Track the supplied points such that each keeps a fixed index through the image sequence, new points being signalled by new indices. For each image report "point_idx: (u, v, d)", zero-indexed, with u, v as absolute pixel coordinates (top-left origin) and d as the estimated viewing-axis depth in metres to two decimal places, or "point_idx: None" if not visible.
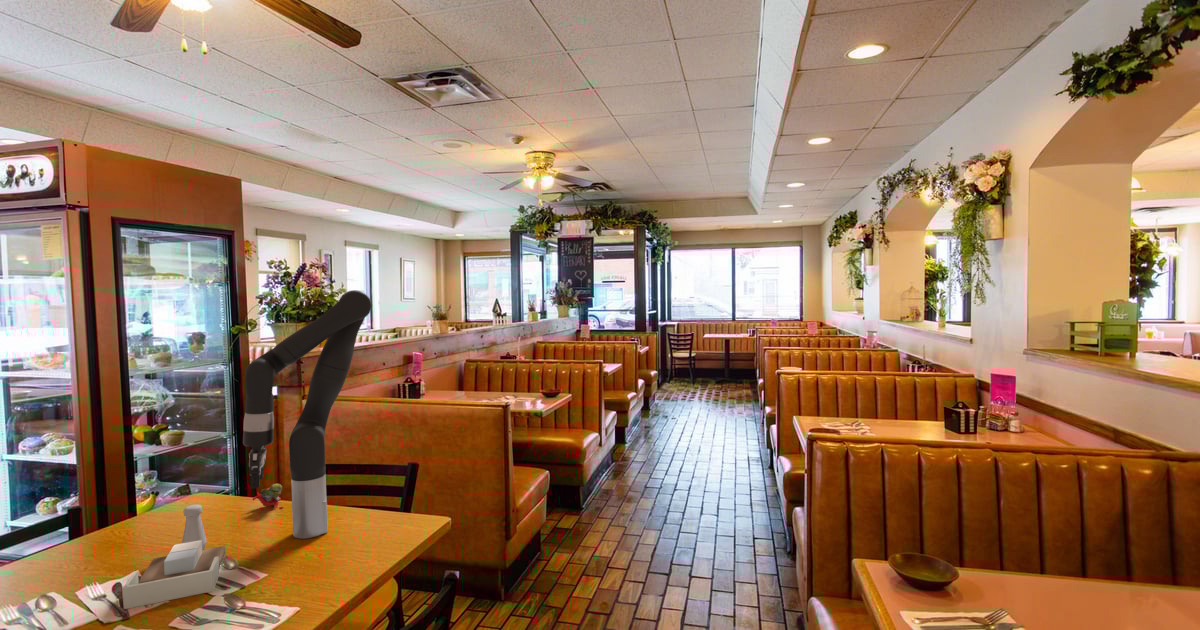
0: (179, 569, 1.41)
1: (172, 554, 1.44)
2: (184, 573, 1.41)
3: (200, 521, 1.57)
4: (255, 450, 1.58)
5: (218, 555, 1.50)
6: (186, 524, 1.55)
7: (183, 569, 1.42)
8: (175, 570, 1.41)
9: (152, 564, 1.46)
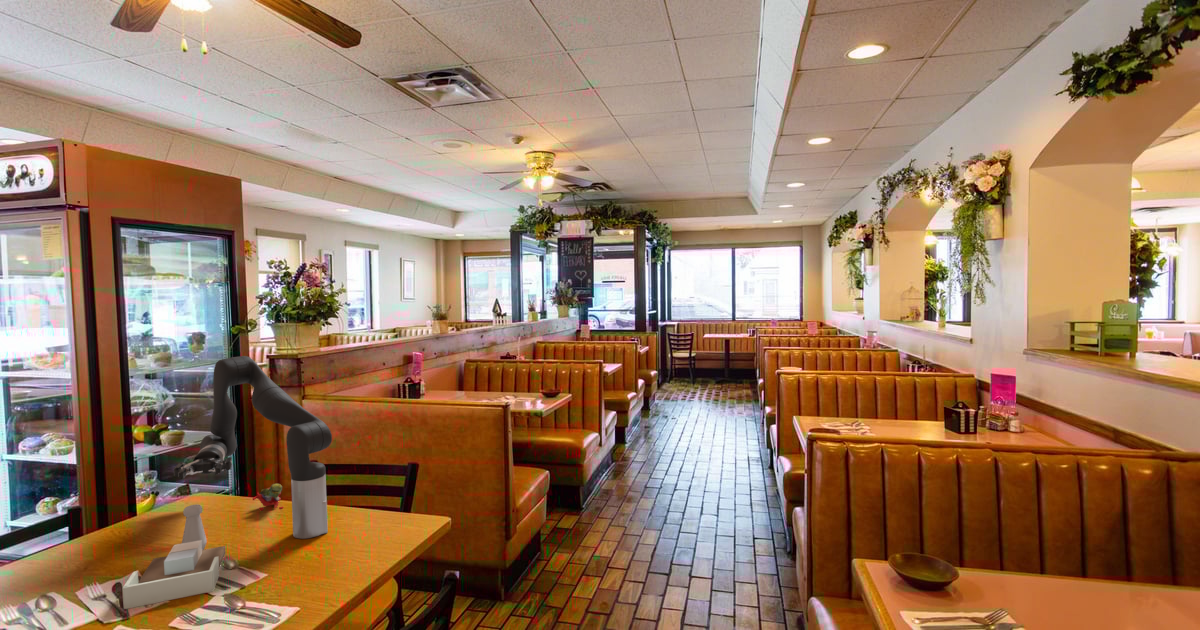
0: (179, 569, 1.41)
1: (172, 554, 1.44)
2: (184, 573, 1.41)
3: (200, 521, 1.57)
4: None
5: (218, 555, 1.50)
6: (186, 524, 1.55)
7: (183, 569, 1.42)
8: (175, 570, 1.41)
9: (152, 564, 1.46)
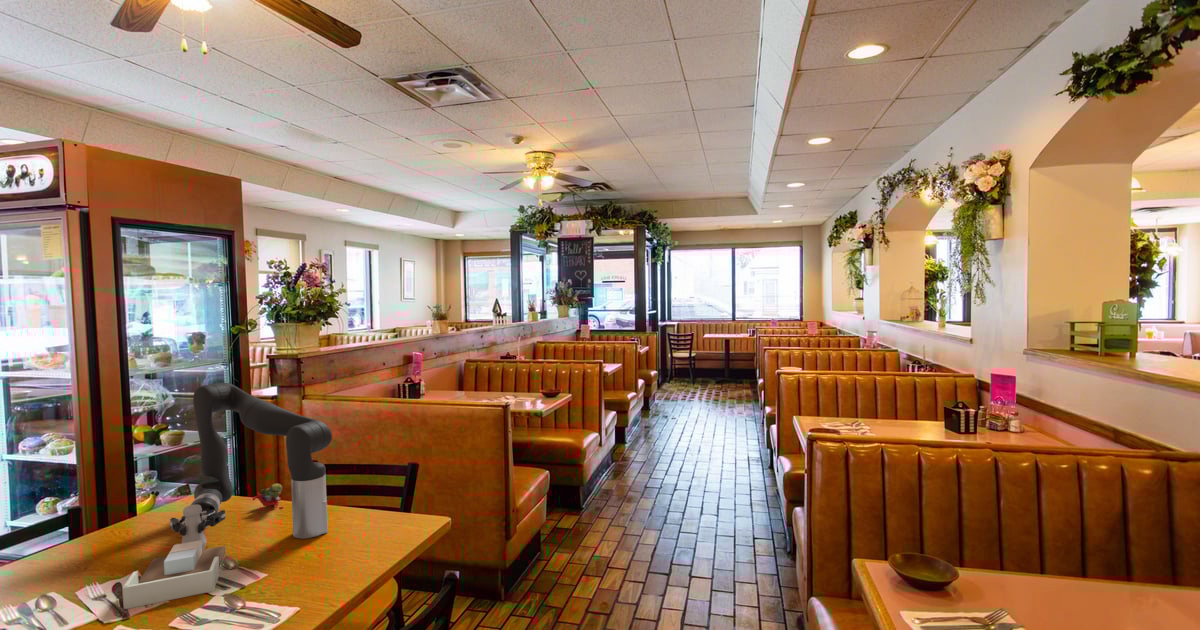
0: (179, 569, 1.41)
1: (172, 554, 1.44)
2: (184, 573, 1.41)
3: (200, 521, 1.57)
4: None
5: (218, 555, 1.50)
6: (186, 524, 1.55)
7: (183, 569, 1.42)
8: (175, 570, 1.41)
9: (152, 564, 1.46)
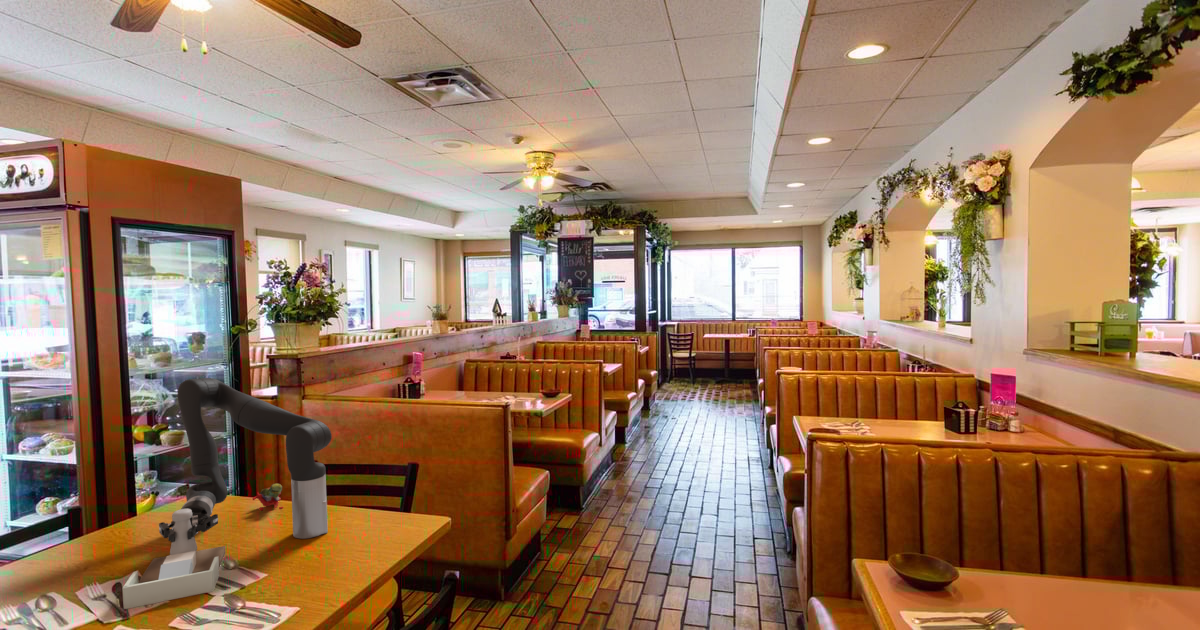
0: None
1: (165, 568, 1.36)
2: None
3: (190, 526, 1.47)
4: None
5: (218, 555, 1.50)
6: (175, 530, 1.45)
7: None
8: None
9: (152, 564, 1.46)
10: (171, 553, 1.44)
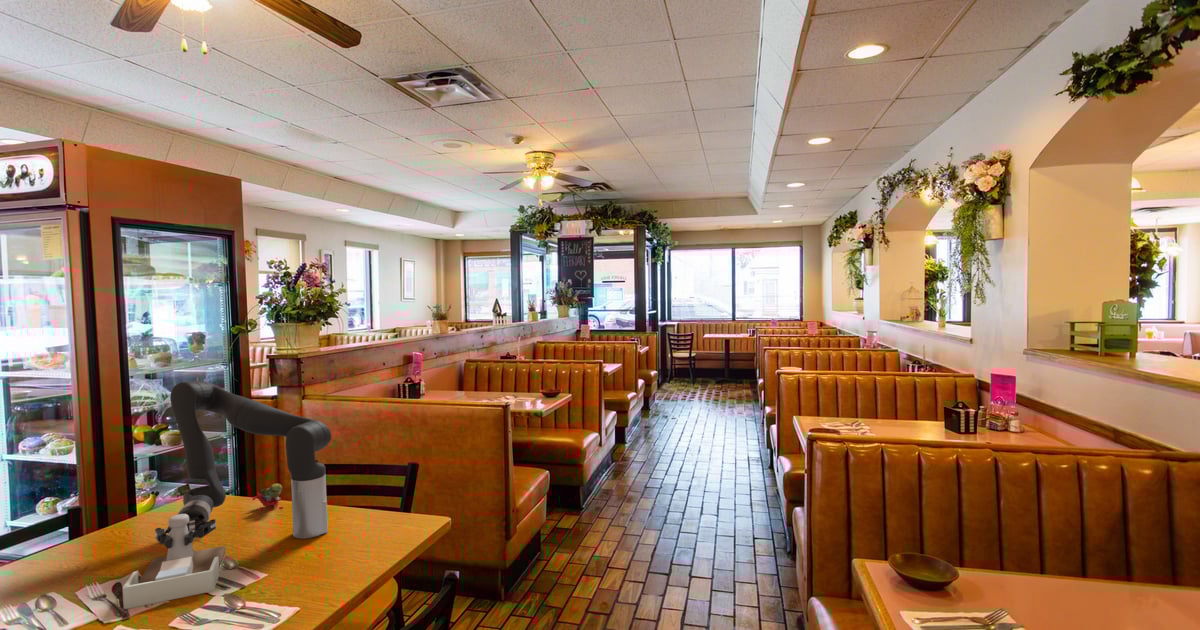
0: None
1: None
2: None
3: (187, 532, 1.43)
4: None
5: (218, 555, 1.50)
6: (172, 536, 1.41)
7: None
8: None
9: (152, 564, 1.46)
10: (167, 559, 1.41)
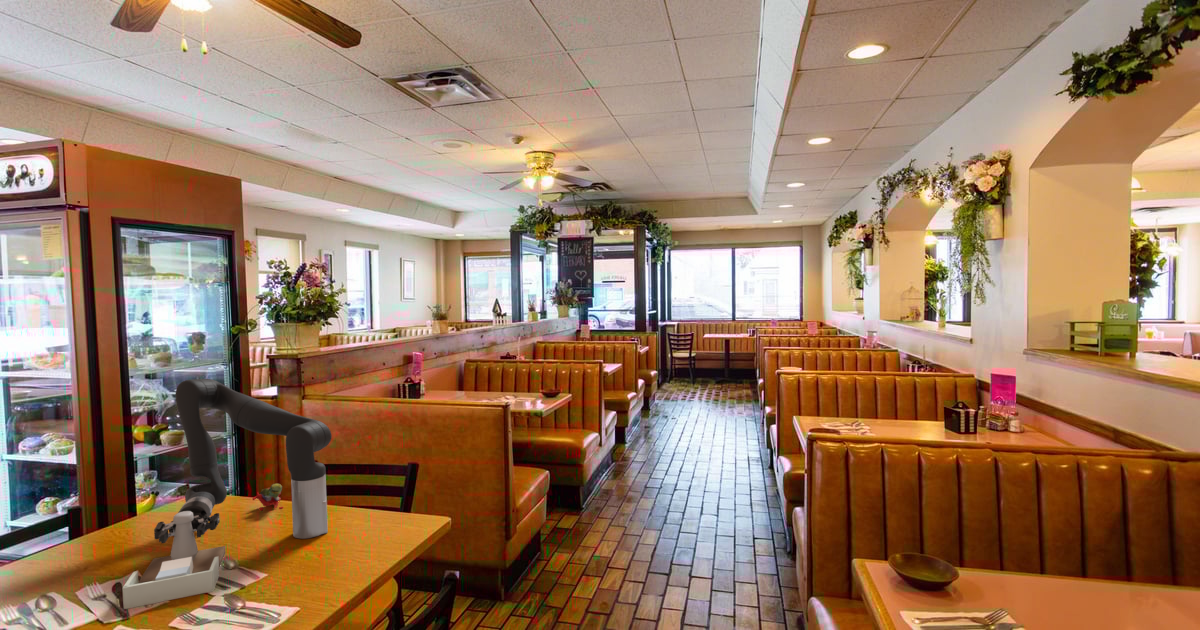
0: None
1: None
2: None
3: (191, 529, 1.47)
4: None
5: (218, 555, 1.50)
6: (176, 532, 1.45)
7: None
8: None
9: (152, 564, 1.46)
10: (172, 555, 1.44)
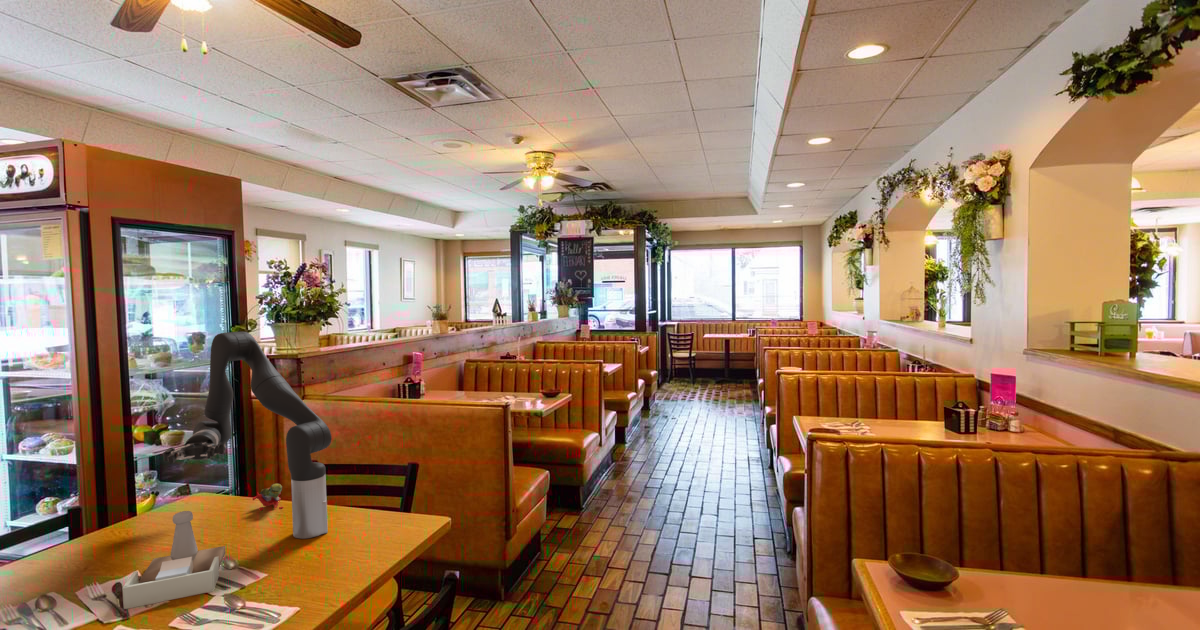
0: None
1: None
2: None
3: (190, 529, 1.47)
4: None
5: (218, 555, 1.50)
6: (176, 532, 1.45)
7: None
8: None
9: (152, 564, 1.46)
10: (171, 555, 1.45)
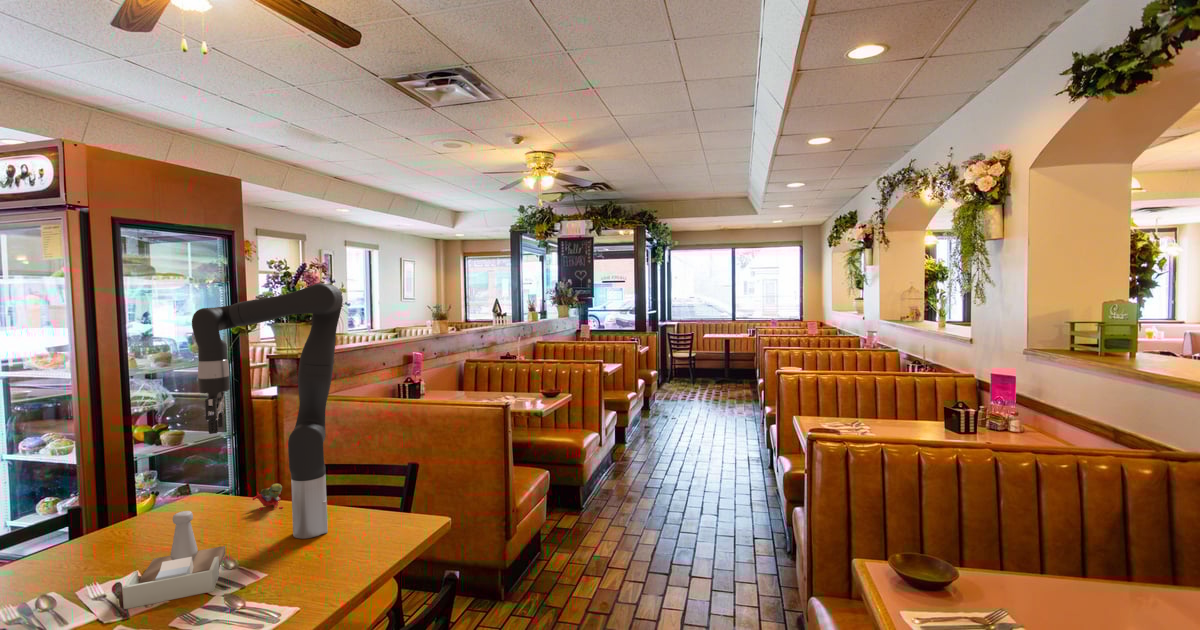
0: None
1: None
2: None
3: (190, 529, 1.47)
4: (211, 396, 1.61)
5: (218, 555, 1.50)
6: (176, 532, 1.45)
7: None
8: None
9: (152, 564, 1.46)
10: (171, 555, 1.45)
